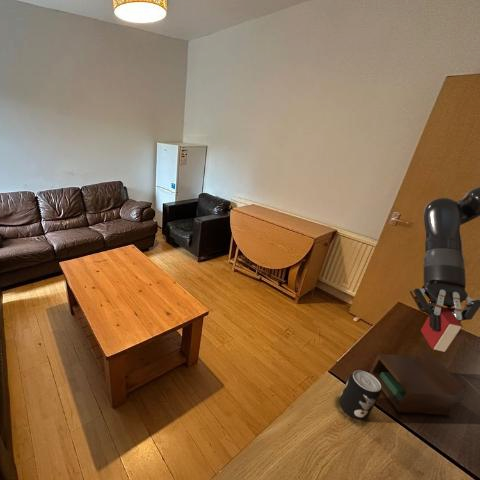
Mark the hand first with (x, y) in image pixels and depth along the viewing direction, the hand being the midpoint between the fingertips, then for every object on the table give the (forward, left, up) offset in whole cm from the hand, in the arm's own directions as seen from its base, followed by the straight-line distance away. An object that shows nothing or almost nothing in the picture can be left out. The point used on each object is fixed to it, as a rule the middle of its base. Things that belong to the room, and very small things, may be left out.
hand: (445, 332), depth 64 cm
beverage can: (+20, +7, -23) cm, 31 cm away
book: (-1, -2, -5) cm, 5 cm away
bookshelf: (+2, +1, -23) cm, 23 cm away
